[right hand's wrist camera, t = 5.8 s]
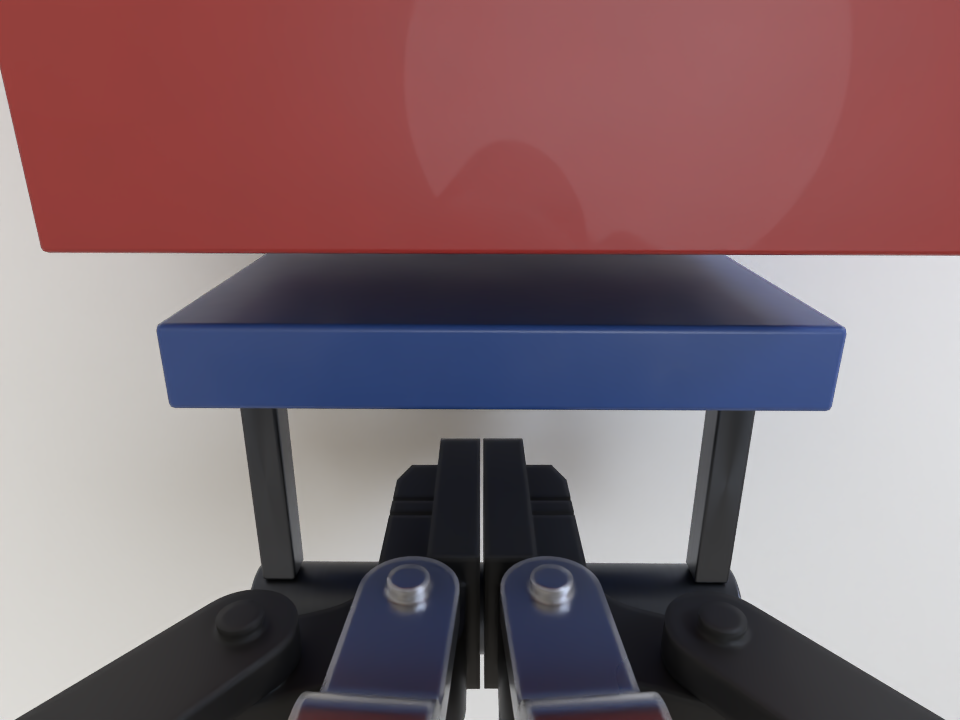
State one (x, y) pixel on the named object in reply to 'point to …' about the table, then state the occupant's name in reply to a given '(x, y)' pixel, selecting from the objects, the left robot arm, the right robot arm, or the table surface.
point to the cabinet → (488, 125)
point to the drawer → (500, 372)
